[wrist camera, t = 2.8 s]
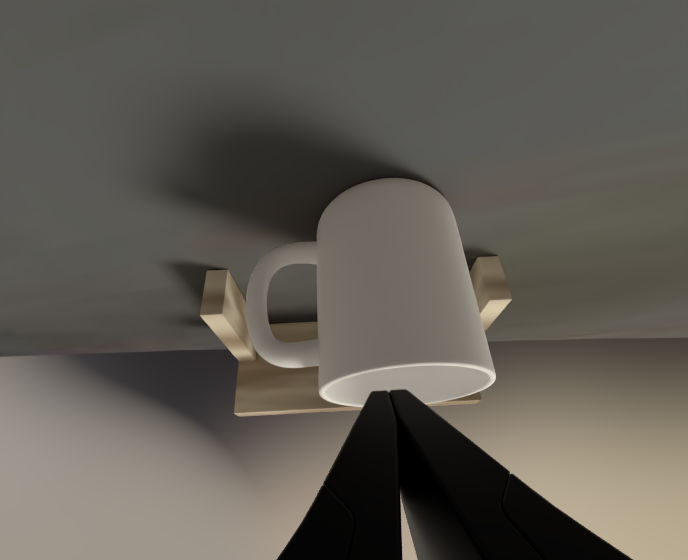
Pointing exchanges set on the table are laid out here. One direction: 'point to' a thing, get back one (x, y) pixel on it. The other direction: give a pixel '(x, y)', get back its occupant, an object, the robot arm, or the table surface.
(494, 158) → the table surface
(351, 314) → the cup
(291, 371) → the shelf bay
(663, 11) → the table surface
